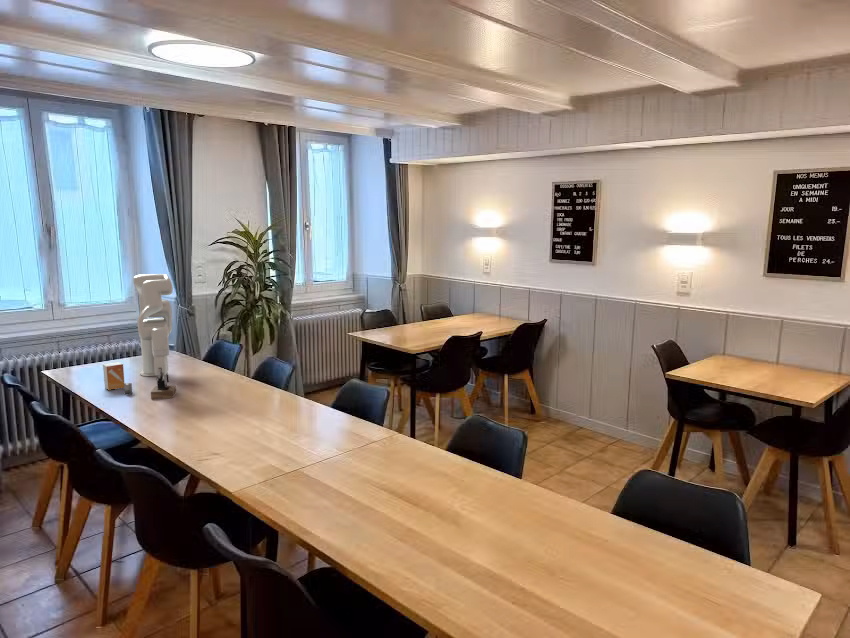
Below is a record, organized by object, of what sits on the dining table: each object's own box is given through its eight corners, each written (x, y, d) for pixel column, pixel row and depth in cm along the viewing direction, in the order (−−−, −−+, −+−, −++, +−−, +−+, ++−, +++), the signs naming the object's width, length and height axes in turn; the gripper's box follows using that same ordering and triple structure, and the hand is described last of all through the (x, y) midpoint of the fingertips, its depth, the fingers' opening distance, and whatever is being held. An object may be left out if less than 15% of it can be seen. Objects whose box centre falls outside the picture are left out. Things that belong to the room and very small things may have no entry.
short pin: (125, 392, 295) (124, 383, 294) (133, 392, 296) (132, 382, 295) (123, 394, 292) (122, 385, 291) (131, 394, 292) (130, 384, 292)
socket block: (155, 392, 295) (154, 386, 294) (176, 391, 297) (175, 385, 297) (151, 399, 285) (150, 392, 285) (172, 397, 288) (172, 390, 287)
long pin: (160, 394, 293) (159, 371, 290) (168, 394, 293) (166, 371, 291) (159, 396, 289) (157, 373, 287) (167, 396, 290) (165, 373, 288)
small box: (108, 391, 297) (106, 366, 295) (104, 388, 302) (102, 364, 299) (125, 388, 303) (123, 363, 300) (121, 385, 307) (119, 361, 305)
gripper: (156, 348, 295) (158, 381, 298) (148, 356, 278) (151, 390, 281) (172, 347, 296) (174, 380, 300) (165, 355, 280) (168, 390, 283)
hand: (163, 385), depth 290 cm, fingers open, 9 cm apart
